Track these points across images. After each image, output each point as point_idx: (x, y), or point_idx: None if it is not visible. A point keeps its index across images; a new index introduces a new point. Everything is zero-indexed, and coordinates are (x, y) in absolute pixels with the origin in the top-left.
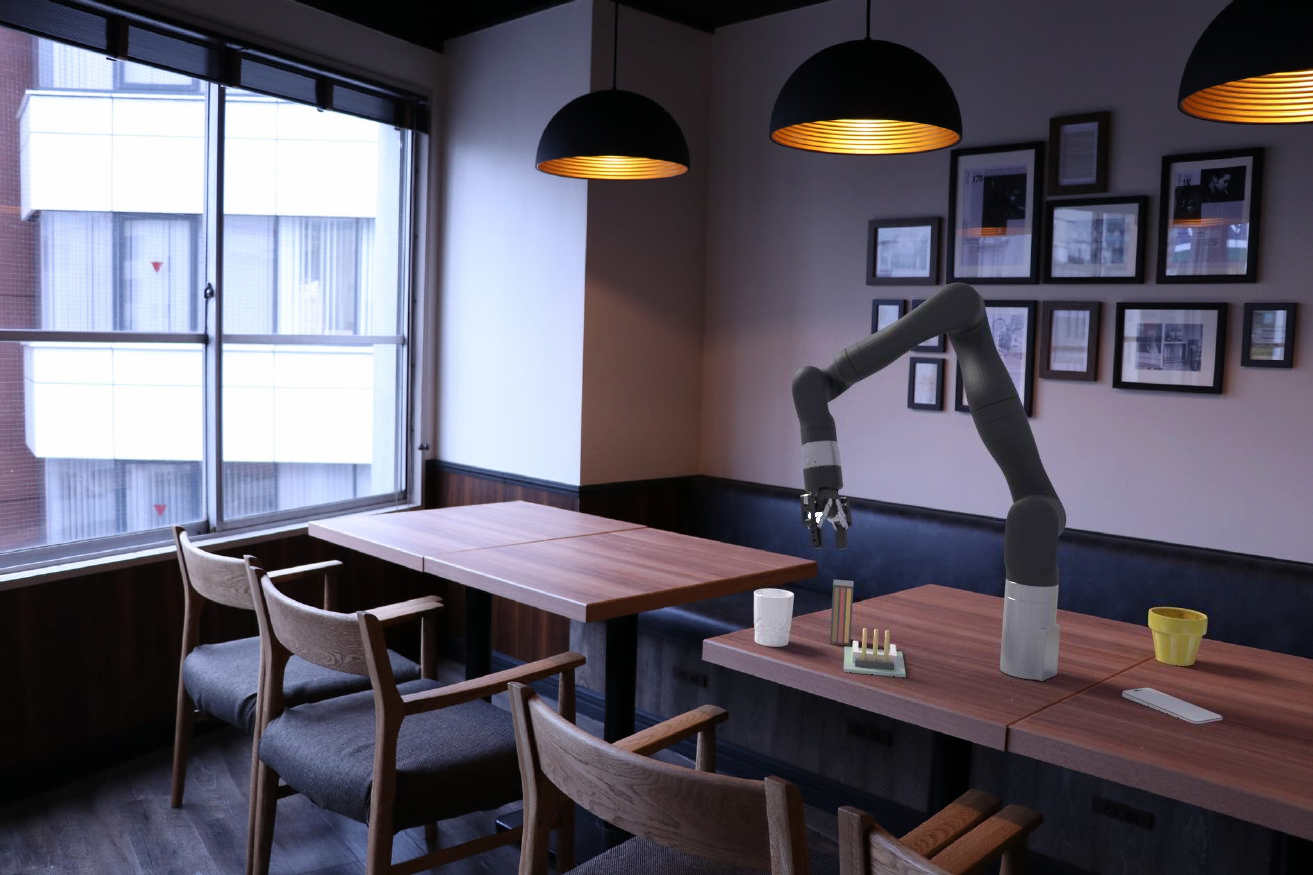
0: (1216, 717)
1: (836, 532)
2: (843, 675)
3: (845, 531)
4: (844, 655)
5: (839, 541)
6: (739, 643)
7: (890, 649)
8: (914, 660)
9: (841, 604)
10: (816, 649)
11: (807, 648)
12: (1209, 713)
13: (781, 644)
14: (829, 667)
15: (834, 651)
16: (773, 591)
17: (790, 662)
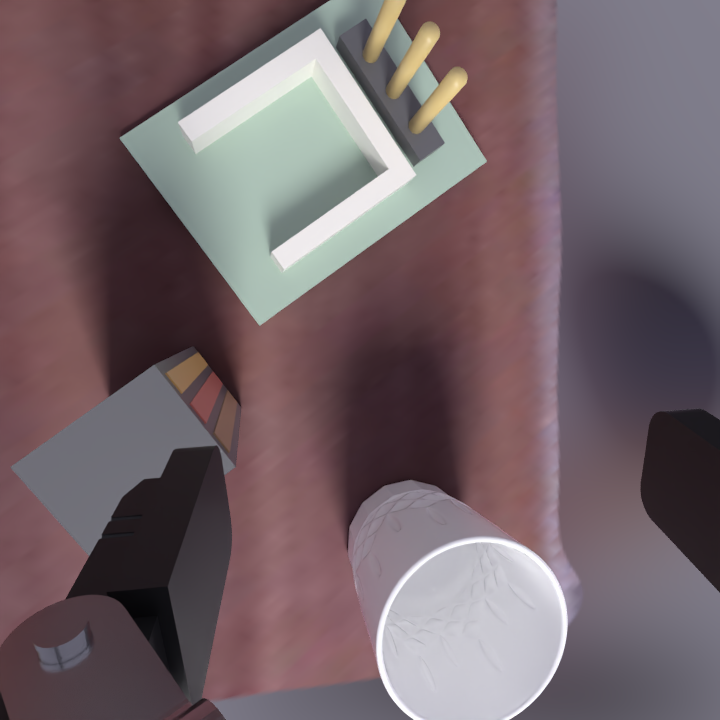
0: None
1: (195, 677)
2: (511, 143)
3: (132, 569)
4: (357, 253)
5: (215, 552)
6: None
7: (256, 99)
8: (147, 66)
9: (209, 400)
10: (345, 387)
11: (361, 414)
12: None
13: (422, 483)
14: (479, 225)
15: (310, 332)
16: (402, 696)
17: (535, 339)
